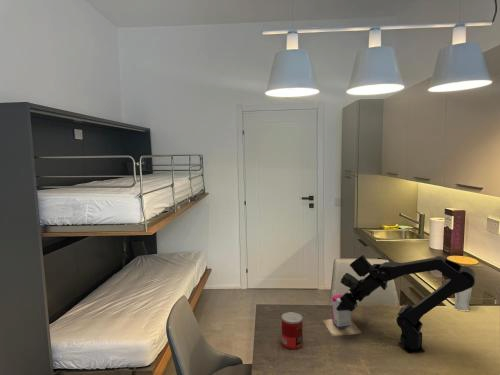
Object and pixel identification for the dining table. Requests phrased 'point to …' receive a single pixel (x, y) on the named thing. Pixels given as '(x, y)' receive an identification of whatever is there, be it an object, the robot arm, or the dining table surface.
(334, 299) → the supplement box
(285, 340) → the canned food
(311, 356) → the dining table surface
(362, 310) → the dining table surface
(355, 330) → the oak board
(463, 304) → the beer glass
